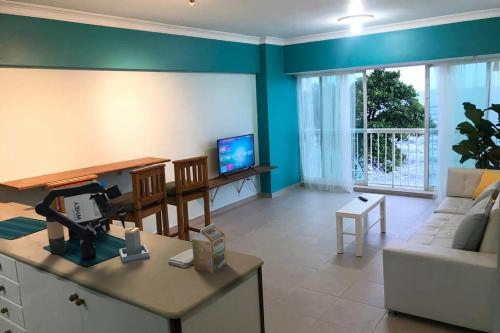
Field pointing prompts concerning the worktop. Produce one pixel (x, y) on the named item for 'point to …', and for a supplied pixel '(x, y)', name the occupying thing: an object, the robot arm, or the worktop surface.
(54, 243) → the travel mug
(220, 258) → the milk carton
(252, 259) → the worktop surface
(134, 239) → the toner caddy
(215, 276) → the worktop surface
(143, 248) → the tray
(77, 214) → the protein powder
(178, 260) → the washcloth
